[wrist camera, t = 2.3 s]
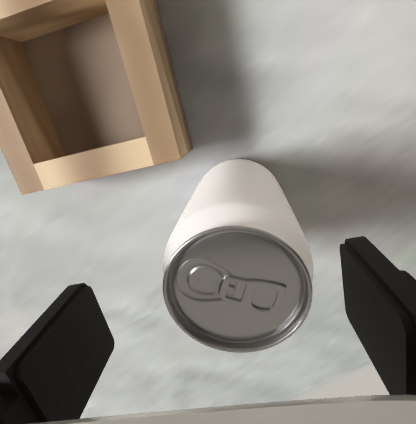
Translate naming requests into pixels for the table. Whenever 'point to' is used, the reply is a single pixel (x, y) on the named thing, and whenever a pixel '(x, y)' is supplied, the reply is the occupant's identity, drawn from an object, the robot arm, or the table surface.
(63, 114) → the socket block
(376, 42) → the table surface
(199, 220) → the can
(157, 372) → the table surface
